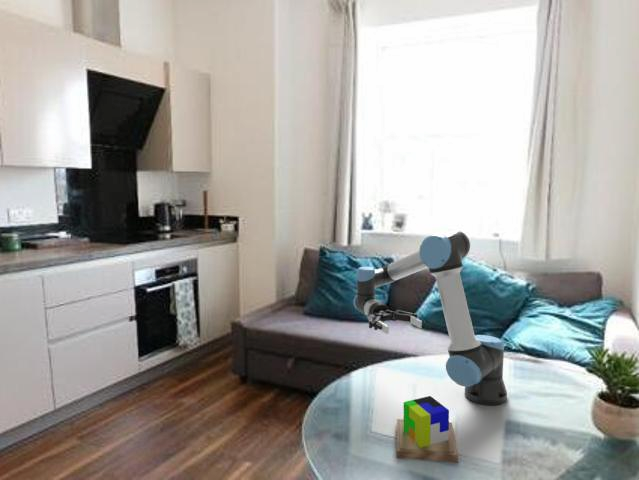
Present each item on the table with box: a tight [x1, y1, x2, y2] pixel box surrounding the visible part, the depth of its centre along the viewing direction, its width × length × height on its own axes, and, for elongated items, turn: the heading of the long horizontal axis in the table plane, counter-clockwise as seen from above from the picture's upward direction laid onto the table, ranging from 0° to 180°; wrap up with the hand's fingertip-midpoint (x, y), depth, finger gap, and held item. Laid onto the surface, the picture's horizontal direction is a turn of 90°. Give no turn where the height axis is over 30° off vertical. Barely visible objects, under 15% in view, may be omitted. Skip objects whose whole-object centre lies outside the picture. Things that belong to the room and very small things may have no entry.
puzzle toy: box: [403, 395, 450, 448], centre depth 150 cm, size 10×10×10 cm
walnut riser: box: [396, 418, 459, 464], centre depth 151 cm, size 18×18×3 cm
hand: (404, 327), depth 170 cm, fingers open, 13 cm apart
